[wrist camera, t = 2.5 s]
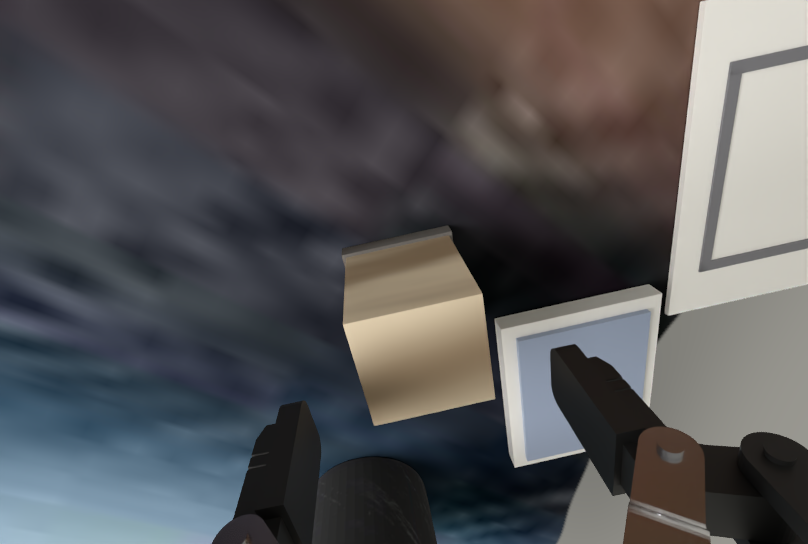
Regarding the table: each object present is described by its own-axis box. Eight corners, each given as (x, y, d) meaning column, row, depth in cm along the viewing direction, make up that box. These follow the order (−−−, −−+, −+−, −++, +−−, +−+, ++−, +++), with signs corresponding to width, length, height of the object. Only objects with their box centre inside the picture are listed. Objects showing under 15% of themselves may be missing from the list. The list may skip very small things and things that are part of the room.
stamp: (342, 248, 18) (336, 321, 13) (447, 224, 18) (486, 288, 13) (366, 335, 20) (371, 429, 15) (461, 314, 20) (499, 400, 15)
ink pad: (494, 318, 21) (502, 333, 19) (648, 284, 21) (666, 296, 20) (509, 453, 25) (516, 472, 24) (636, 424, 25) (649, 441, 24)
